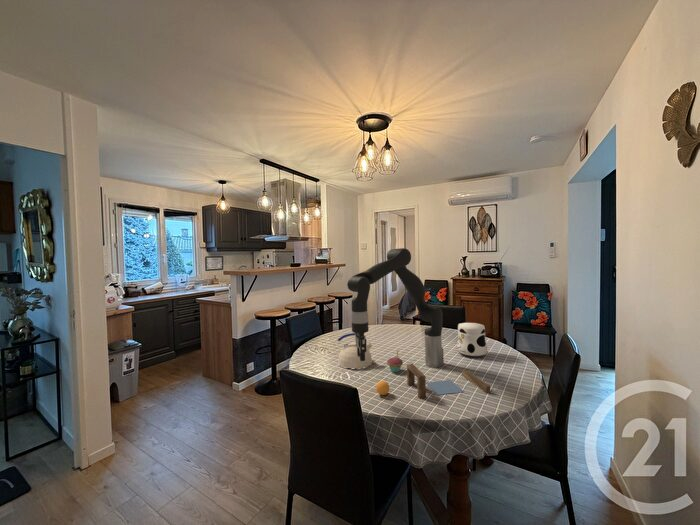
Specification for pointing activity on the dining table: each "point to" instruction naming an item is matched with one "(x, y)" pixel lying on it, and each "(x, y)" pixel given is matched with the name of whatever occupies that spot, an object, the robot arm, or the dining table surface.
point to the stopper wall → (476, 381)
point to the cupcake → (395, 363)
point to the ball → (382, 387)
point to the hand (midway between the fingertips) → (361, 358)
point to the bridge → (421, 379)
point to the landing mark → (444, 387)
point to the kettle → (353, 355)
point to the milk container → (471, 339)
